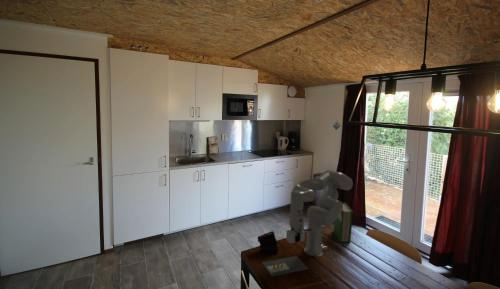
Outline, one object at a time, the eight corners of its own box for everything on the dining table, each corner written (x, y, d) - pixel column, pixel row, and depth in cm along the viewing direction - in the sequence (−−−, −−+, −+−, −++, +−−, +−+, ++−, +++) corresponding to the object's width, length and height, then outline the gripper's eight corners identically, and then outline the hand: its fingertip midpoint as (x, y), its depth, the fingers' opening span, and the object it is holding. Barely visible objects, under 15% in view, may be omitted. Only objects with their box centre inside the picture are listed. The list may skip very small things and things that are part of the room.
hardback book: (350, 243, 183) (353, 211, 180) (339, 242, 184) (342, 210, 181) (343, 231, 201) (345, 202, 198) (333, 231, 201) (335, 202, 198)
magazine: (282, 253, 164) (273, 233, 163) (263, 260, 166) (254, 240, 164) (282, 250, 168) (273, 230, 166) (263, 257, 169) (254, 237, 168)
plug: (308, 235, 161) (309, 226, 160) (312, 239, 157) (313, 230, 156) (286, 239, 155) (286, 230, 154) (289, 243, 151) (290, 234, 150)
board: (296, 257, 163) (296, 250, 162) (308, 270, 150) (309, 263, 149) (261, 264, 155) (262, 256, 154) (271, 278, 142) (271, 270, 141)
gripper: (309, 215, 146) (308, 245, 148) (295, 205, 161) (294, 232, 164) (298, 217, 143) (297, 247, 146) (284, 206, 159) (283, 233, 161)
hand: (295, 239), depth 155 cm, fingers closed on plug, 4 cm apart
